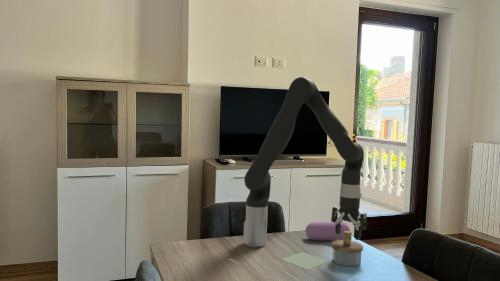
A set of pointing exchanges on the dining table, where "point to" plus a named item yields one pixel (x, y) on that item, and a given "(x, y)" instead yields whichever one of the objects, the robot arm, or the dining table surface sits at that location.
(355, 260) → the cup
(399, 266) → the dining table surface
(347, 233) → the lid
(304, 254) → the mat
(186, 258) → the dining table surface
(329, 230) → the toy
